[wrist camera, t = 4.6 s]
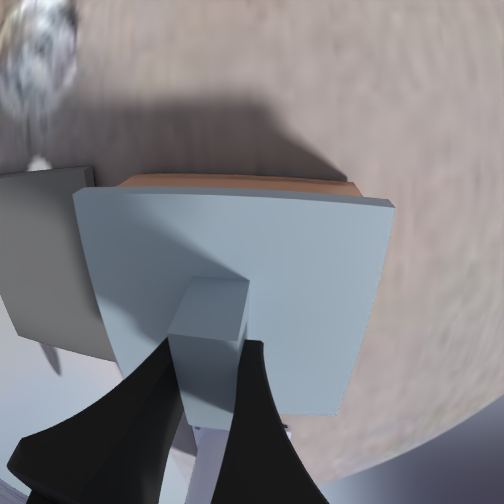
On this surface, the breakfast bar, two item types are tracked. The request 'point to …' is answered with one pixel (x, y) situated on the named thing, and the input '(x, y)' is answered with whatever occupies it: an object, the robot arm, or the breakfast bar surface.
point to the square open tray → (244, 183)
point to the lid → (236, 286)
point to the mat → (49, 262)
